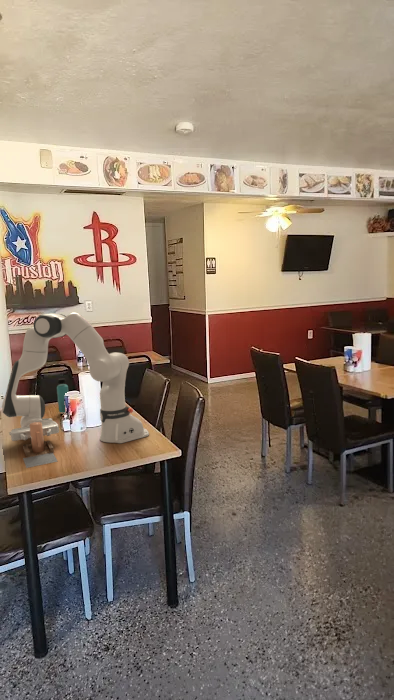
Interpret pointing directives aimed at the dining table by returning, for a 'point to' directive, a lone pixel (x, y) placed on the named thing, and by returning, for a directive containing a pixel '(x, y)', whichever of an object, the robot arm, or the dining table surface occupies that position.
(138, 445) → the dining table surface
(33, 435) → the tall peach cylinder
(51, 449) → the cradle
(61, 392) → the beverage bottle
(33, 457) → the mat
